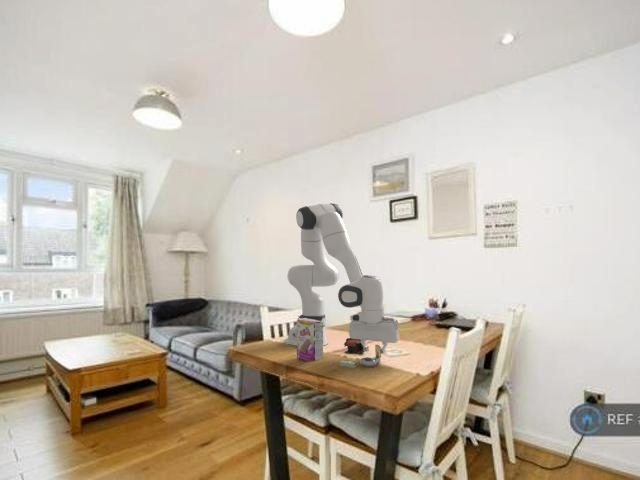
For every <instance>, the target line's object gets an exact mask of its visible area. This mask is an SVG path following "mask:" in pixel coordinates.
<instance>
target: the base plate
mask: <svg viewBox="0 0 640 480" xmlns="http://www.w3.org/2000/svg"><path fill="white" fill-rule="evenodd" d="M339 366H340V367H346V368H351V369H355V368H357V366H358V363H357V362H356V361H355V362H354V361H352V360H340V361H339Z"/></svg>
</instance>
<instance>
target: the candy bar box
mask: <svg viewBox="0 0 640 480" xmlns="http://www.w3.org/2000/svg"><path fill="white" fill-rule="evenodd" d="M296 324H297V346H296V352H297V353H296V358H297V360H301V361H304V362H307V363H308V362H310V361H319V360H322V359H324V345H323V321H318V320H313V319H308V318H302V319H300V318H299V319H298V318H297V319H296Z"/></svg>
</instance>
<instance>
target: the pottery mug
mask: <svg viewBox="0 0 640 480" xmlns="http://www.w3.org/2000/svg"><path fill="white" fill-rule="evenodd" d="M343 345H344V347H347V349H346V350H345V351H344V353H346V354H349V355H350V354H351V355H357V354H359V355H360V354H363V353H365V352H366V351H364V347H363V346H362V344H361V340H359V339H351V338H350V337H347V338H346V339H345V342H344V343H343Z"/></svg>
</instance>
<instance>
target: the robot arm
mask: <svg viewBox="0 0 640 480" xmlns="http://www.w3.org/2000/svg"><path fill="white" fill-rule="evenodd" d="M343 214H344V213H343V210H342V208H341V206H340V205H339V204H337V203H318V204H313V205H309V206H306V205H305V206H302V207H300V208H298V210H297V212H296V216H295V218H296V223H297V226H298V227H300V229H301V230H300V247H301V255H302V256H303V257H304V258H305V259H307V260H309V261H311V262H312V263H313V264H299V265H293V266H291V267H290V268H289V269H288V271H287V280H288V283H289V284H290V285H291V286H292V287H294V289H296V291H297V292H298V294H299V296H300V300H301V310H302V311H301V313H302V314H300V315H298V316H297V319H302V318H308V319H313V320H318V321H323V346H325V345H327V344H329V342H328V339H327V334H326V327H325V326H326V314H325V299H324V298H323V296H322V295H320V294H319V293H316V292H315V291H313V289H312V288H315V287H317V288H319V287H322V288H323V287H324V288H325V287H331V286H335V285H336V284H337V283H338V281H339V275H340V274H339V273H340V272H339V271H338V269H337V268H336V266H334V265H333V264H332V263H331V262H330V261H329V260H328V259H327V256H326V253H325V250H326V252H327V254H328V255H329V256H331V257H332V258H334V259H335V260H337V261H339V262H340V263H341V265H342V266H343V267H344V269H345V272H346V274H347V275H346V276H347V278H348V280H349V282H350V283H347V284H345V285H342V286H341V287H340V288H339V290H338V293H337V297H338V301H339V303H340V304H341V305H342V306H343V307H345V308H349V309H350V308H357V307H360V309H361V311H360V312H357V313H355V314H352V315H350V317H349V319H350V323H349V328H348V334H349V335H348V336H349V338H351V339H359V340H361V344H362V346H363V347H364V351H365V352H369V351H370V346H368V344H367V343H366V342H367V341H372V342H381V343H382V344H381V346H382V345H383V346H382V347H381V349H380V353H381V355H382V354H383V355H384V354H386V348H387V346H388V344H396V343H398V342H399V341H400V339H401V338H400V332H399V328H400V327H399V321H398V319H396V318H395V317H387V316H385V308H384V305H383V300H384V290H383V284H382V283H383V282H382V281H381V279H380V278H379V277H378V276H375V275H367V274H365V275H363V272H362V269H361V268H360V265H359V262H358V259H357V256H356V255H355V251H354V250H353V247H352V245H351V244H352V243H351V240H350V238H349V237H350V236H349V234H348V231H347V228H346V225H345V223H344V221H343ZM283 344H287V345H291V346H295V347H297V323H296V324H295V325H294V326H293V327H291V328H290V329H289V331H288V336H287V338H286V339H284V340H283Z"/></svg>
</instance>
